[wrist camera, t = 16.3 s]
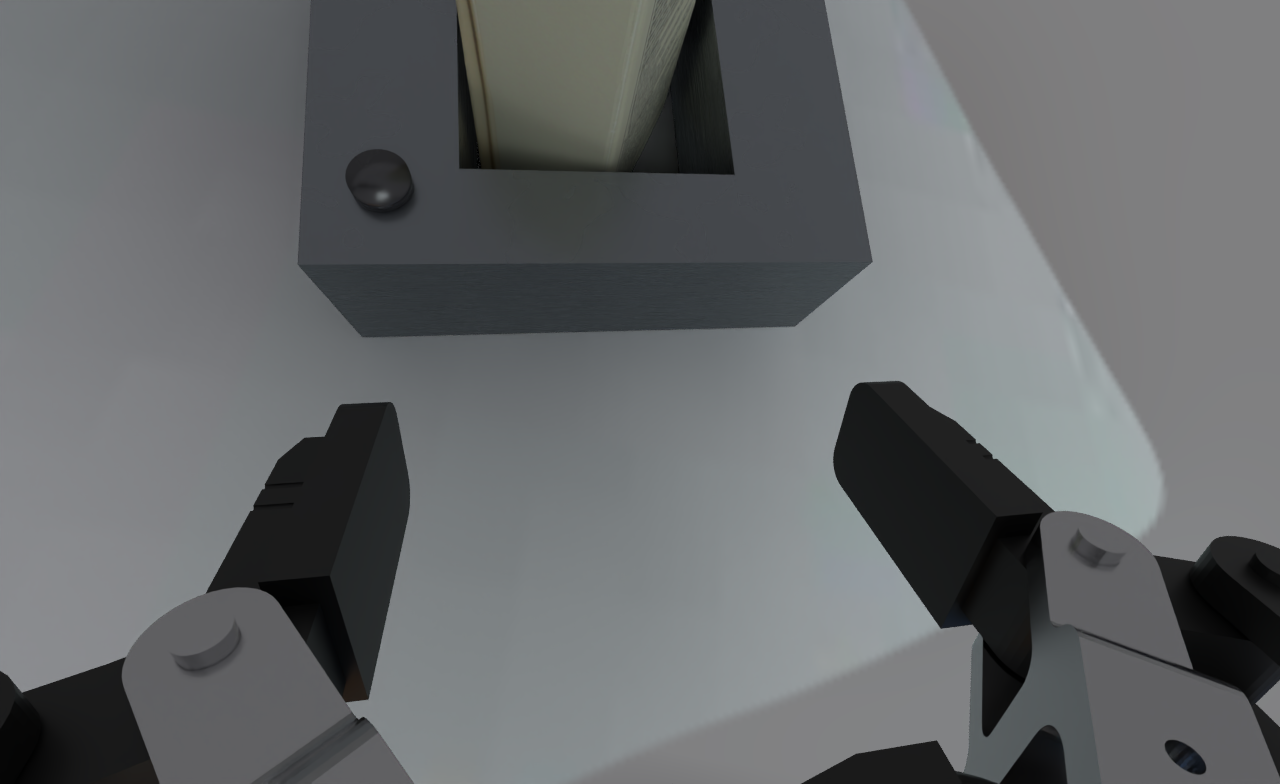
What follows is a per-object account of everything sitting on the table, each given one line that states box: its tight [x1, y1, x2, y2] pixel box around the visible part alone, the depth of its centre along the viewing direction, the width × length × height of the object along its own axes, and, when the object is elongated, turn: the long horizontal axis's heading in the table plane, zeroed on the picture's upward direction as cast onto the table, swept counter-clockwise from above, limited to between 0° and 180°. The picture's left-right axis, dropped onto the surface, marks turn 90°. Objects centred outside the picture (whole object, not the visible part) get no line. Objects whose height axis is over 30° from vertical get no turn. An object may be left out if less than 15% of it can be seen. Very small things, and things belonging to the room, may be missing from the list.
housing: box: [298, 0, 873, 337], centre depth 18 cm, size 14×14×5 cm
